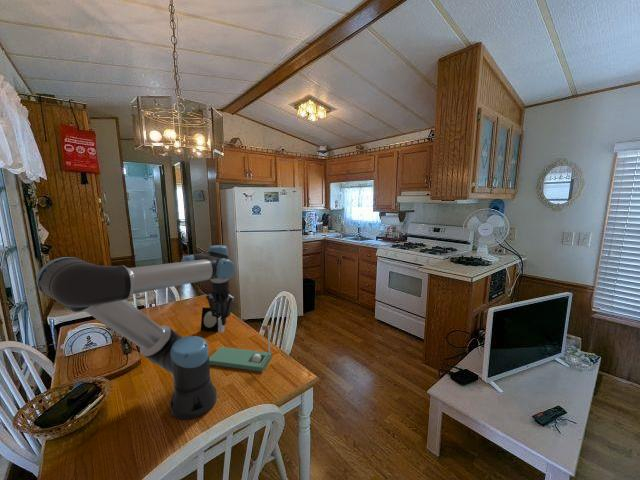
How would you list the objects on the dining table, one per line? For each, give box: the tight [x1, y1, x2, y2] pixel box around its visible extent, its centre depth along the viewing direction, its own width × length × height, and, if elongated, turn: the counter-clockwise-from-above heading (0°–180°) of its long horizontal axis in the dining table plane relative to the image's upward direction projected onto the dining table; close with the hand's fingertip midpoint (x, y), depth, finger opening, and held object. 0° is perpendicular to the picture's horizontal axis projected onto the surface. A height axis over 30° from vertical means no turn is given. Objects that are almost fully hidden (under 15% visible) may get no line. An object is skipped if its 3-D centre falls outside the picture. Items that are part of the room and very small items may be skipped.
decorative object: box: [200, 307, 219, 333], centre depth 153 cm, size 13×10×10 cm
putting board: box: [209, 325, 273, 373], centre depth 122 cm, size 11×26×16 cm, turn 79°
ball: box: [251, 354, 262, 363], centre depth 122 cm, size 4×4×4 cm
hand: (221, 331), depth 122 cm, fingers closed
